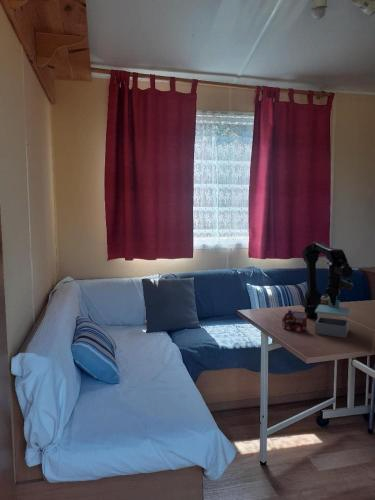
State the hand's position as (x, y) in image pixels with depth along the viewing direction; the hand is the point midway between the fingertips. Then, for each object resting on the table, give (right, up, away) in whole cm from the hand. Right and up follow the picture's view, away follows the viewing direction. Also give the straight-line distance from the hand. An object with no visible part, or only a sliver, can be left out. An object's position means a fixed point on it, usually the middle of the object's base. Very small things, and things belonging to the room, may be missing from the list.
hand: (333, 305), depth 178 cm
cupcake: (+12, -10, +40) cm, 43 cm away
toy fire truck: (-19, -13, +1) cm, 24 cm away
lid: (-3, -3, -4) cm, 6 cm away
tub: (-3, -13, -4) cm, 14 cm away
